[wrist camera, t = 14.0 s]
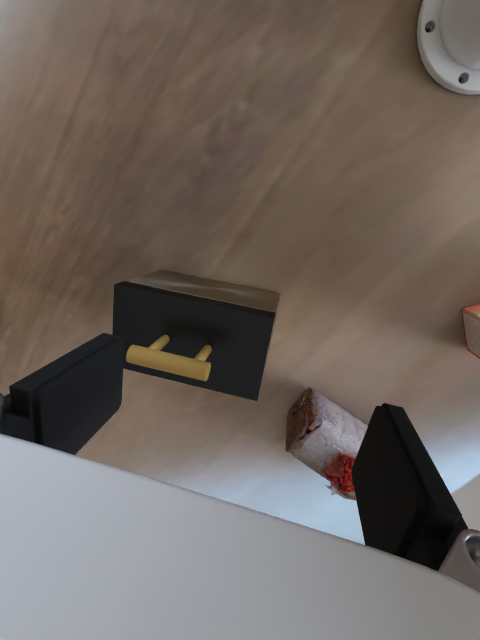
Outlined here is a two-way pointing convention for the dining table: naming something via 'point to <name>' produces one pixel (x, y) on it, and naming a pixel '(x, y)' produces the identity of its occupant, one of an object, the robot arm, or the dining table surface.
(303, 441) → the food item
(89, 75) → the dining table surface
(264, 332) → the box
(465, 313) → the cracker box
